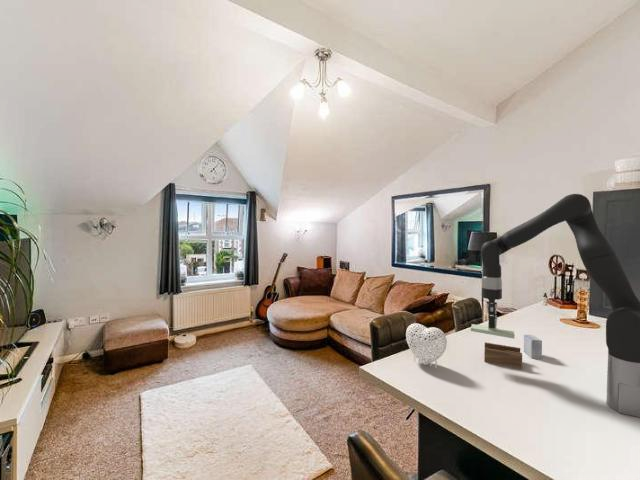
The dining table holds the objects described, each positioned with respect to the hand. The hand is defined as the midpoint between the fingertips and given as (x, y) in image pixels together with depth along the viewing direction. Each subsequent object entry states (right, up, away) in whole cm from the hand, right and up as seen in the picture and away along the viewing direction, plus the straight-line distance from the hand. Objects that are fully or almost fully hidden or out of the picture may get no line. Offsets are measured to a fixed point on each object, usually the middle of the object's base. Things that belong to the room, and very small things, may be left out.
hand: (491, 326), depth 129 cm
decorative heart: (-28, -17, +2) cm, 33 cm away
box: (+8, -17, +6) cm, 20 cm away
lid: (0, -3, 0) cm, 3 cm away
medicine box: (+26, -17, +12) cm, 34 cm away
